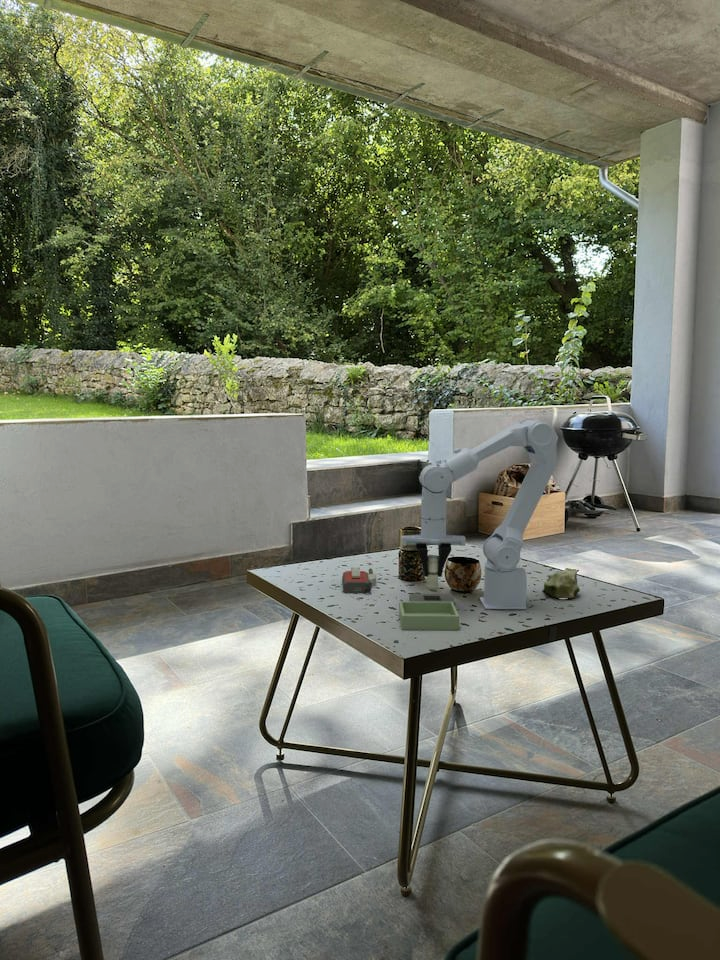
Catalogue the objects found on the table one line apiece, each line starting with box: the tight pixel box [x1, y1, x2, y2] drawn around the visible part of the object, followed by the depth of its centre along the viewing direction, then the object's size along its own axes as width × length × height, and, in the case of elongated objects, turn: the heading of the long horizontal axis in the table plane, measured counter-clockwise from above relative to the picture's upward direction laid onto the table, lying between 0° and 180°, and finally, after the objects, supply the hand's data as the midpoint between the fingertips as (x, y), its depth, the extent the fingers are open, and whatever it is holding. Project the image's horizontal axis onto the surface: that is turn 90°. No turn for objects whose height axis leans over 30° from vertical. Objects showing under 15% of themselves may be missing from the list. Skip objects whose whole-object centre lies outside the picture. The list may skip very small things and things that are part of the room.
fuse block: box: [408, 593, 457, 609], centre depth 167 cm, size 10×7×2 cm
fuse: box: [426, 554, 439, 591], centre depth 166 cm, size 3×3×8 cm
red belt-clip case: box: [341, 567, 377, 594], centre depth 186 cm, size 9×4×20 cm
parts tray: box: [398, 601, 460, 631], centre depth 156 cm, size 12×10×3 cm
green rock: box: [541, 567, 581, 599], centre depth 176 cm, size 9×9×8 cm
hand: (432, 575), depth 166 cm, fingers closed on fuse, 3 cm apart
